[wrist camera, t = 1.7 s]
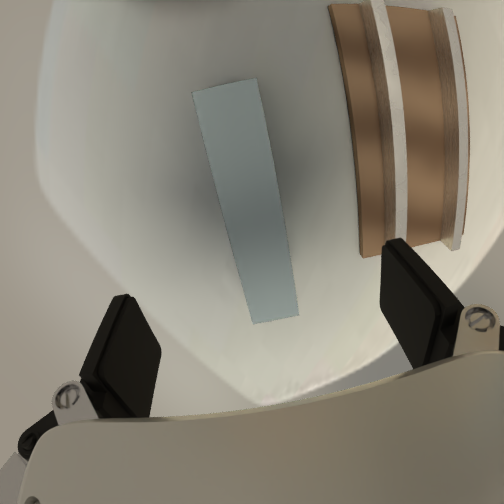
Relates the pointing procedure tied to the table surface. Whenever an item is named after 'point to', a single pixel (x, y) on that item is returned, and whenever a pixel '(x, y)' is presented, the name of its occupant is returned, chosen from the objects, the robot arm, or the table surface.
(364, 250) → the bottom track
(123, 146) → the table surface
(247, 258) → the door panel
